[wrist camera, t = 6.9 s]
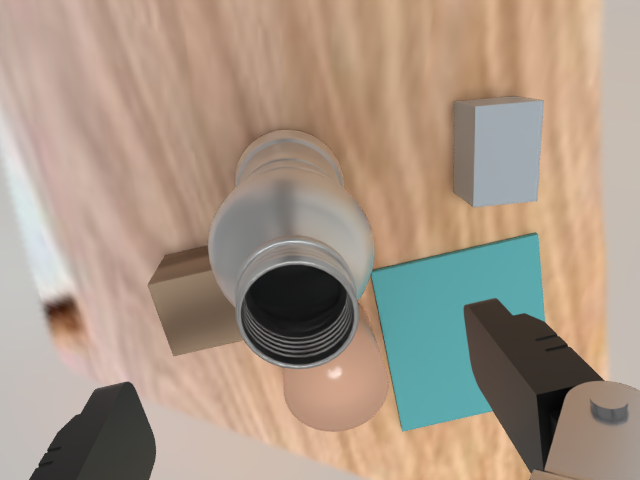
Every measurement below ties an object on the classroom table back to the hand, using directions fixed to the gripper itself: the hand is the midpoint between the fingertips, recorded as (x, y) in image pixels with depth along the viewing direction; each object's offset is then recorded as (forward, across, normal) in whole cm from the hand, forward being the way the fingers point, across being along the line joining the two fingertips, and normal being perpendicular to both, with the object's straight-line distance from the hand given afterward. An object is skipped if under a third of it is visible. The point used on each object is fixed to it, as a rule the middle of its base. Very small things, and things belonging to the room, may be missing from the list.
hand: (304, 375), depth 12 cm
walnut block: (+23, +7, +6) cm, 25 cm away
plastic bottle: (+23, 0, 0) cm, 23 cm away
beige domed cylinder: (+23, 0, +12) cm, 26 cm away
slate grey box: (+23, -13, +1) cm, 27 cm away
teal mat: (+23, -10, +15) cm, 29 cm away
